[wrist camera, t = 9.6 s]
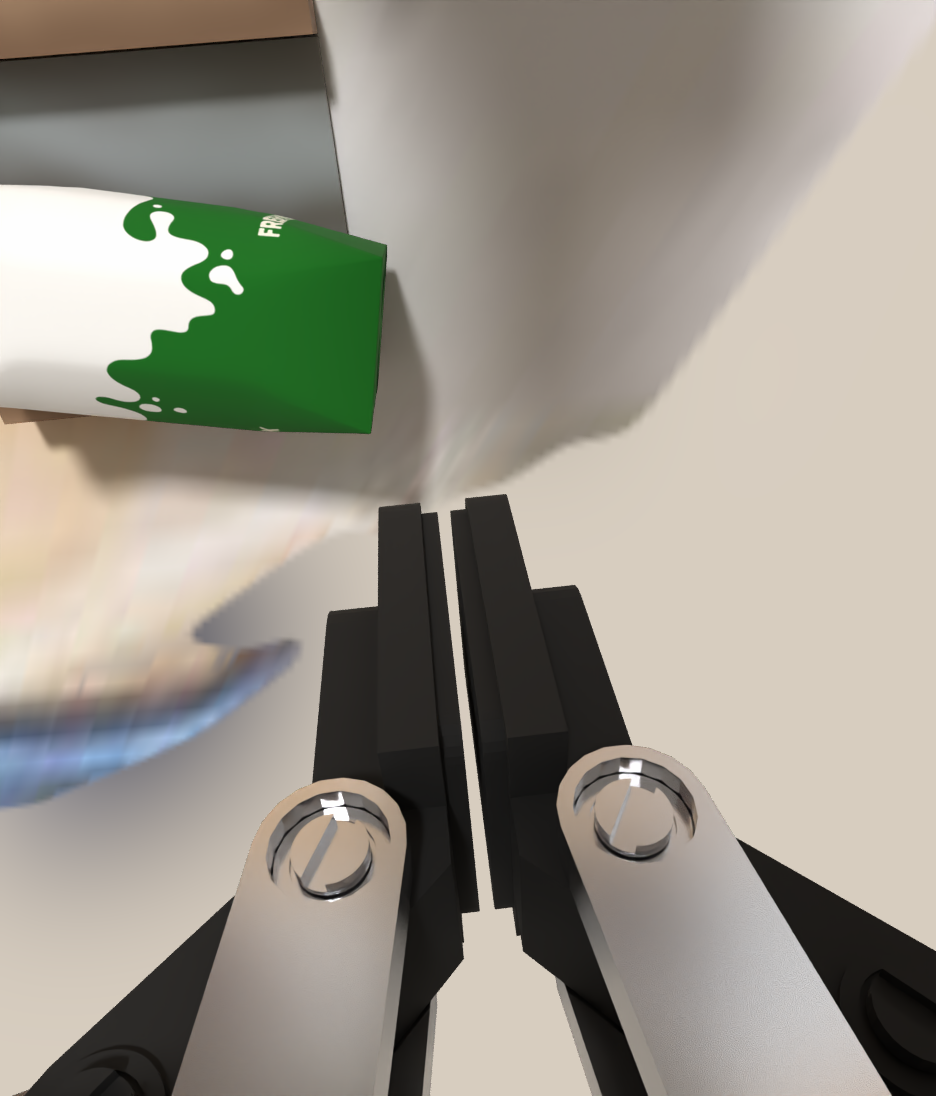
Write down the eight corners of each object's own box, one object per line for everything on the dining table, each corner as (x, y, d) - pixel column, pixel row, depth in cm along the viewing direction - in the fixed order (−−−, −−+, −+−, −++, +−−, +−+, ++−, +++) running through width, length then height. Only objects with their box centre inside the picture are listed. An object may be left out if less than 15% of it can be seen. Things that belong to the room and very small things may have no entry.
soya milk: (385, 233, 28) (-212, 157, 25) (369, 465, 31) (-150, 418, 29) (389, 222, 35) (-64, 164, 33) (376, 409, 39) (-31, 369, 37)
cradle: (-147, 14, 30) (-187, 13, 27) (309, -21, 30) (304, -24, 28) (24, 403, 39) (4, 424, 37) (367, 369, 40) (367, 388, 38)
